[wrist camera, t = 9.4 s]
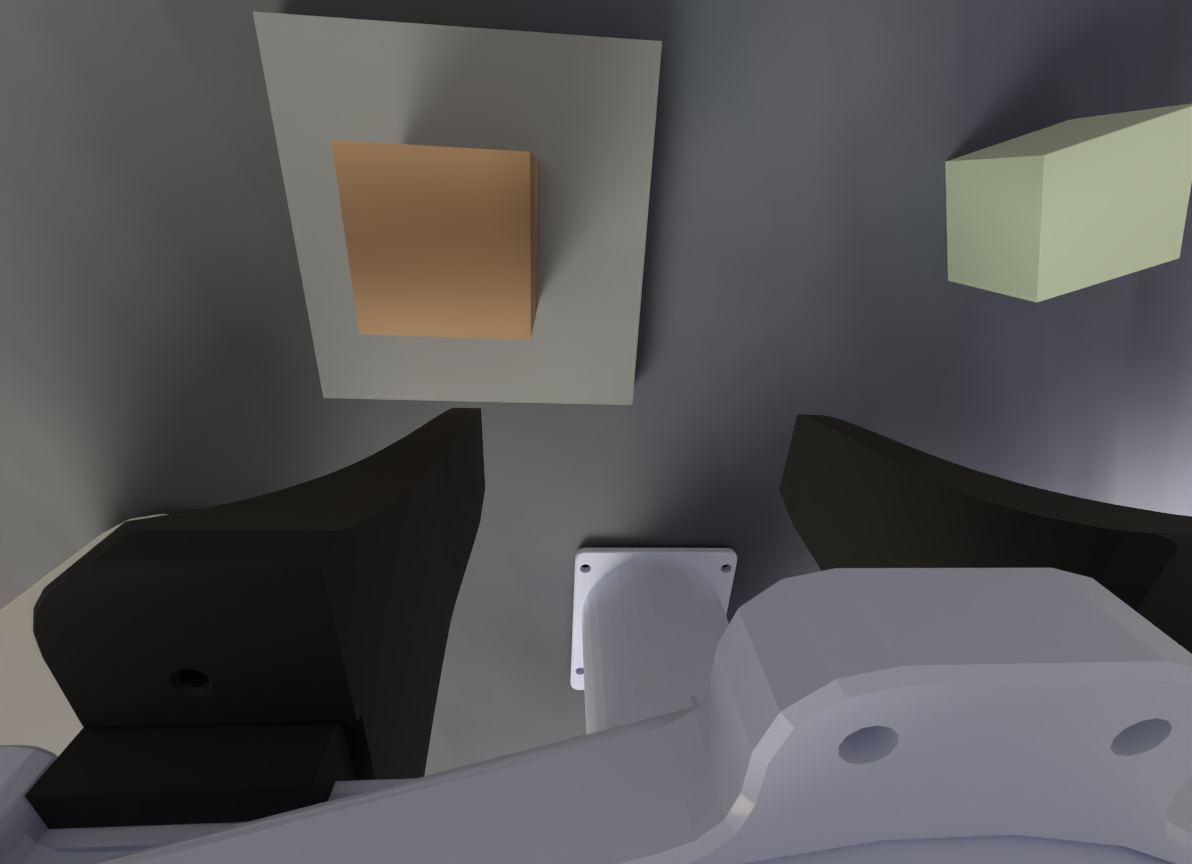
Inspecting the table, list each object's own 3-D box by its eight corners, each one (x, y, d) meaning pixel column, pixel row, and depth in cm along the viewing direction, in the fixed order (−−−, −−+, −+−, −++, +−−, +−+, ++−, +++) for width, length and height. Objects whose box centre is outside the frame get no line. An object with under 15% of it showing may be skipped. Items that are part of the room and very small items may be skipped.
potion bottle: (72, 505, 23) (-1056, 1243, 7) (266, 500, 24) (-379, 1184, 7) (141, 643, 27) (-508, 1348, 11) (308, 637, 27) (-68, 1304, 11)
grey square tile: (628, 391, 23) (632, 405, 21) (338, 384, 22) (323, 398, 20) (654, 52, 17) (662, 40, 16) (277, 25, 17) (252, 11, 15)
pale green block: (1060, 244, 21) (1179, 258, 17) (946, 280, 21) (1036, 302, 17) (1068, 119, 19) (1204, 101, 15) (943, 161, 20) (1044, 155, 15)
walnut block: (539, 299, 19) (530, 340, 14) (412, 295, 19) (358, 334, 14) (539, 161, 17) (529, 151, 12) (399, 153, 17) (331, 140, 12)
